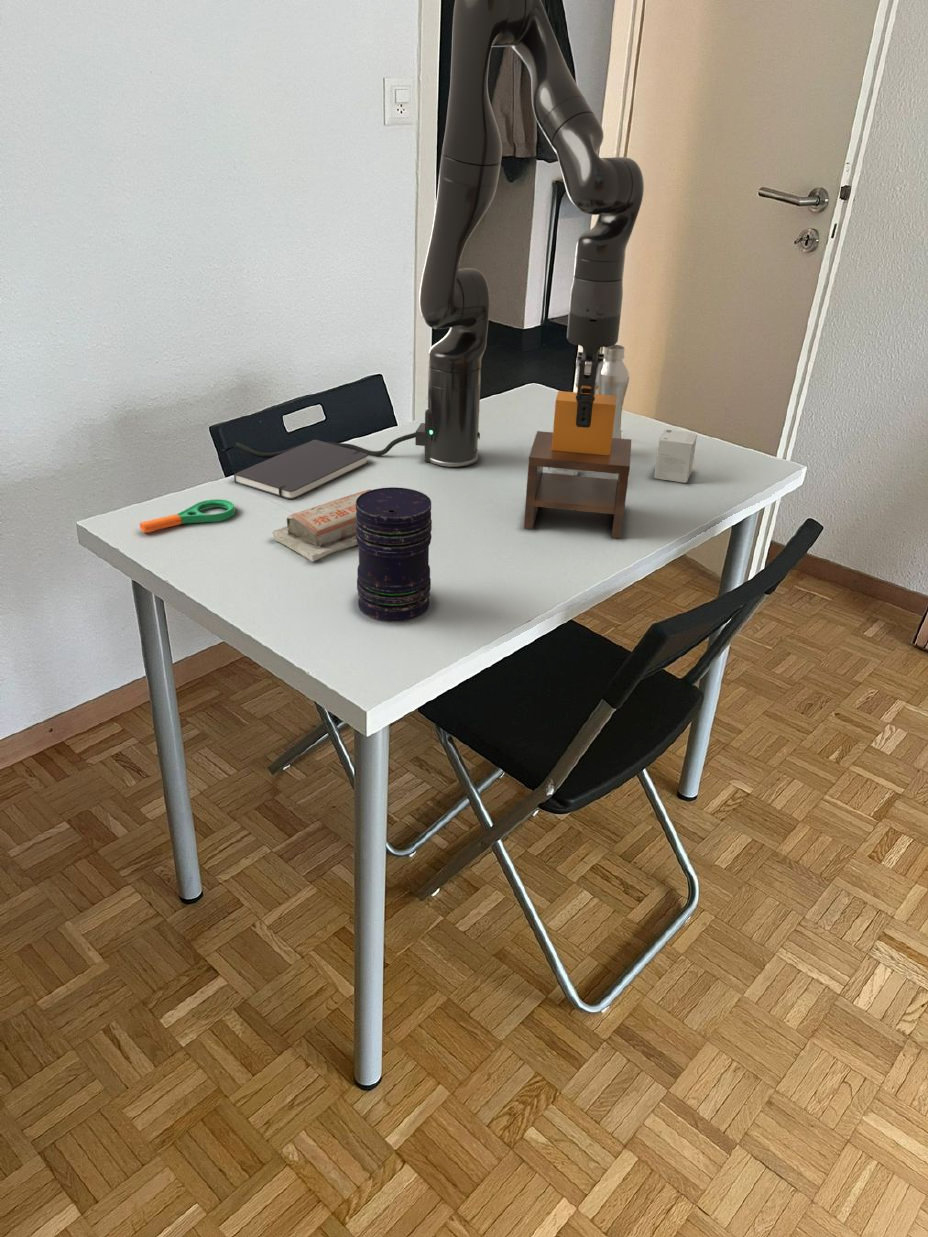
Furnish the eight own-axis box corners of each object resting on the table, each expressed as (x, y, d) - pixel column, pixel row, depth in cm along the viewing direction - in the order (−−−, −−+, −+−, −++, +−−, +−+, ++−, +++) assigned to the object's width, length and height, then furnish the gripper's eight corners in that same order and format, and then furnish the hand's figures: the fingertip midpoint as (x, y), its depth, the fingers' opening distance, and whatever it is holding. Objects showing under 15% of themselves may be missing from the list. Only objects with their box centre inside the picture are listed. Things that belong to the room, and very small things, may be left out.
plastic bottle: (594, 444, 188) (606, 340, 178) (626, 452, 185) (639, 346, 175) (578, 453, 184) (588, 346, 173) (609, 462, 180) (622, 354, 170)
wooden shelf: (523, 528, 154) (528, 456, 148) (532, 499, 164) (537, 430, 158) (620, 538, 152) (629, 466, 146) (622, 508, 162) (631, 439, 156)
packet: (551, 450, 151) (555, 399, 147) (554, 440, 155) (558, 390, 151) (610, 455, 150) (615, 405, 145) (611, 445, 153) (616, 395, 149)
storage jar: (362, 584, 136) (360, 485, 129) (432, 588, 136) (434, 488, 129) (352, 621, 128) (350, 516, 120) (427, 624, 128) (429, 520, 120)
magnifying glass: (223, 502, 159) (222, 493, 158) (242, 515, 155) (241, 505, 154) (134, 527, 150) (132, 516, 149) (152, 540, 146) (150, 530, 145)
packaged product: (363, 481, 156) (405, 500, 150) (364, 509, 158) (405, 529, 152) (269, 511, 145) (311, 533, 139) (271, 540, 147) (312, 564, 141)
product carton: (687, 483, 172) (693, 444, 169) (653, 478, 174) (658, 439, 170) (691, 472, 177) (698, 433, 174) (658, 467, 179) (663, 428, 175)
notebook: (315, 447, 182) (234, 482, 166) (314, 439, 181) (233, 473, 165) (369, 462, 176) (291, 500, 160) (369, 454, 175) (291, 491, 160)
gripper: (572, 297, 148) (564, 401, 156) (565, 318, 136) (556, 430, 144) (622, 300, 147) (611, 405, 155) (619, 322, 135) (607, 435, 143)
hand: (584, 417), depth 150 cm, fingers open, 8 cm apart
